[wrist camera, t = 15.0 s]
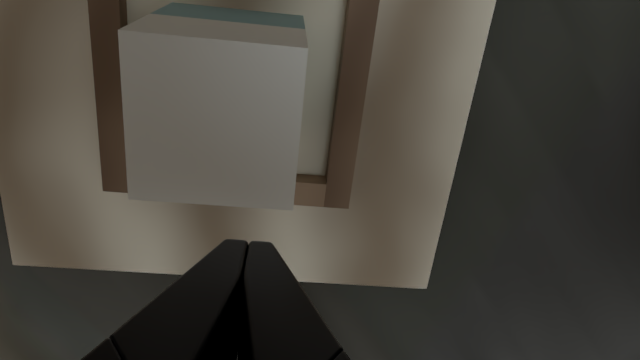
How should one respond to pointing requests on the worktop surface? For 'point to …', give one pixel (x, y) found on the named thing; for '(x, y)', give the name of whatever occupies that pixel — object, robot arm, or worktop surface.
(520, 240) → the worktop surface
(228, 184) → the block stack
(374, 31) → the seating plate
